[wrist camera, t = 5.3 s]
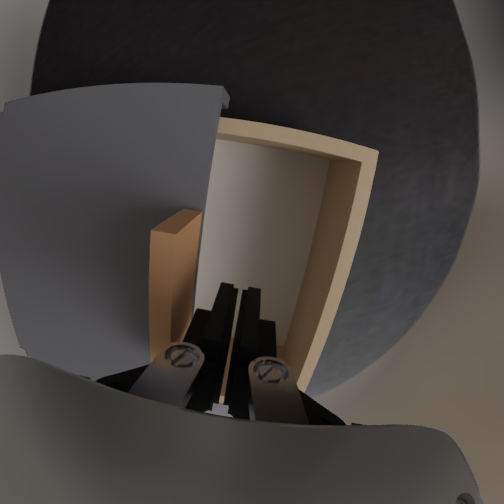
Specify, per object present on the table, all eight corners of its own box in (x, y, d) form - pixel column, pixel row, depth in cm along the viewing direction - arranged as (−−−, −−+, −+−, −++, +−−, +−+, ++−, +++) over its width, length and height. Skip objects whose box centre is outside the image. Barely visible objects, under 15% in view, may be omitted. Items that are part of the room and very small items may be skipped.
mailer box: (153, 124, 17) (100, 112, 11) (339, 152, 17) (378, 151, 11) (141, 320, 23) (106, 371, 16) (289, 349, 23) (295, 411, 16)
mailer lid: (22, 105, 11) (-40, 103, 6) (230, 97, 12) (204, 57, 6) (36, 339, 17) (-1, 377, 12) (193, 393, 18) (174, 458, 12)
